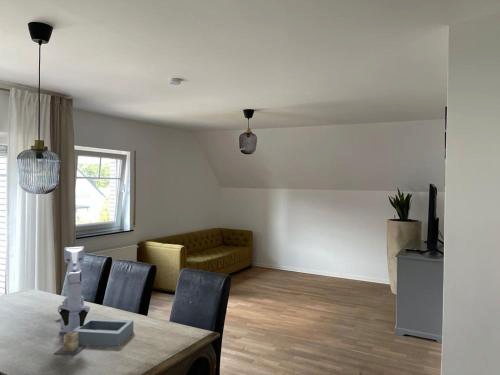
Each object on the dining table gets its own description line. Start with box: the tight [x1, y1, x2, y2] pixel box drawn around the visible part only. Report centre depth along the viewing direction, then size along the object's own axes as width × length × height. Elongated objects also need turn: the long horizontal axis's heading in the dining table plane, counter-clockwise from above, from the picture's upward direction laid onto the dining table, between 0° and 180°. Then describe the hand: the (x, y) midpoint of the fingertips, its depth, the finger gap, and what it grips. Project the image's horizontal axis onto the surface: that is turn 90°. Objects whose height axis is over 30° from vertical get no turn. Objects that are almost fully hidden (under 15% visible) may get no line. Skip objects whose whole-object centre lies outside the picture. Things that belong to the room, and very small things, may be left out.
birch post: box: [63, 332, 79, 351], centre depth 179 cm, size 4×4×7 cm
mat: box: [53, 344, 87, 356], centre depth 179 cm, size 10×10×1 cm
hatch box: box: [71, 317, 134, 347], centre depth 194 cm, size 24×18×6 cm
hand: (74, 325), depth 182 cm, fingers open, 7 cm apart
